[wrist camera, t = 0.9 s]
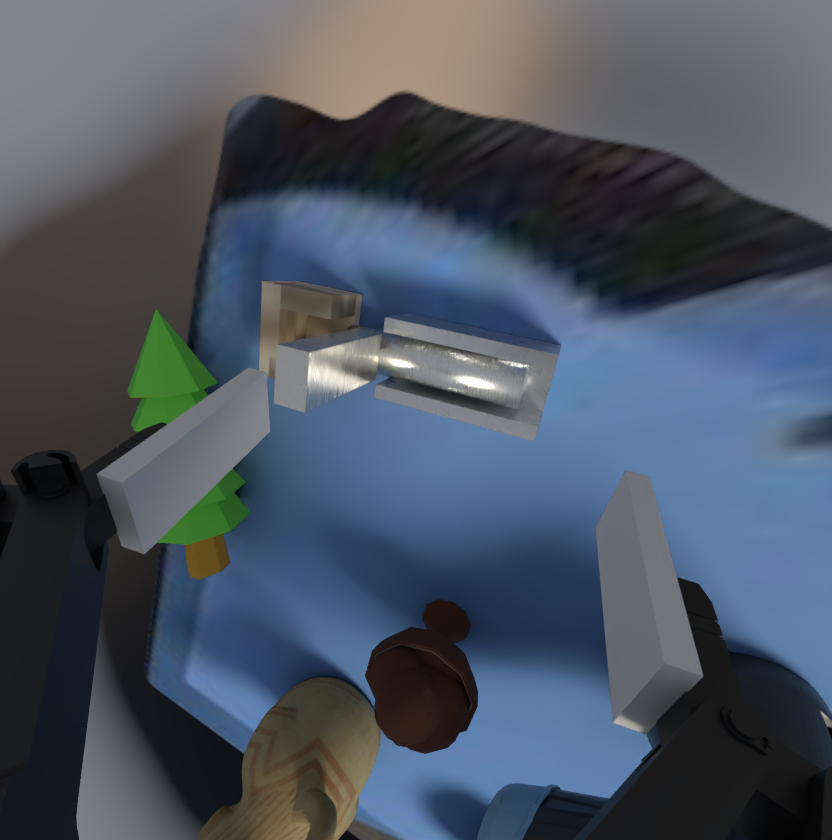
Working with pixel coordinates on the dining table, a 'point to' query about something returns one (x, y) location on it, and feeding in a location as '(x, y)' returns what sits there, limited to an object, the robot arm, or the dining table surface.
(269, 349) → the socket
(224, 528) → the decorative tree
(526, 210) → the dining table surface
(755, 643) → the dining table surface
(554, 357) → the channel
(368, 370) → the shiny silver metal piece
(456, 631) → the ice cream bowl
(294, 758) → the ceramic vessel
